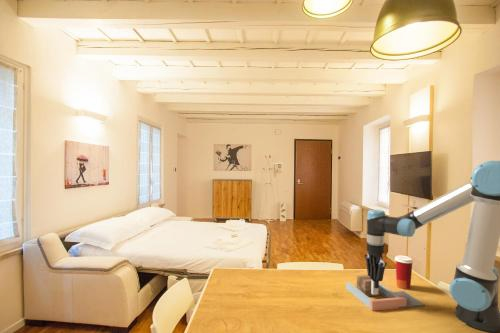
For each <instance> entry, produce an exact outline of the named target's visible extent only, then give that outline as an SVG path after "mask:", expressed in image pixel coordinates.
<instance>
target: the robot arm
mask: <svg viewBox="0 0 500 333" xmlns="http://www.w3.org/2000/svg"><path fill="white" fill-rule="evenodd" d="M473 202H474V204H473V208H472V213H471V214H472V215H471V218H470V224H469V229H468V233H467V237H466V238H467V239H466V243H465V249H464V253H463V258H462V262H460V263H457V264H456V267H455V270H454V271H455V273H454V276H453V280H452V281H451V282H450V284H449V293H450V296H451V297H452V299H453V300H454V302H455V303H457V305H456V307H455V309H454V311H455V312H454V313H455V314H454V315H455V317H456V318H457V319H458V321H459V320H460V321H461V322H462V323H464V324H466V325H467V326H469V327H472V328H474V329H477V330H480V331H484V332H491V333H498V332H500V309H499V308H500V307H499V278H500V274H499V269H498V268H497V267H495V261H496V257H497V252H498V247H499V243H500V160H488V161H485V162H483V163H481V164H479V165H478V166H477V167H476V168H474V170H473V171H472V174H471V177H469V180H468V181H467V182H465V183H464V184H461V185H459V186H458V187H457V186H456V187H455V188H454V189H452V190H450V191H448V192H446V193H444V194H442V195H440V196H438V197H437V198H434V199H433V200H431V201H429V202H427V203H425V204H423V205H421V206H420V207H418V208H417V207H416V208H415V209H414V210H411V211H410V212H408V213H406V214H403V215H401V216H397V217H396V216H390V215H389V216H388V215H386V212H385V211H384V210H380V209H369V210H368V211H367V216H366V242H367V243H366V251H367V252H368V253H365V254H364V258H365V263H366V270H367V272H366V273H367V275H368V276H370V278H371V294H373V295H374V296H377V295H376V294H378V295H379V291H378V288H379V283H380V282H382V281H383V279H384V275H385V269H386V266H387V262H385V261H384V260H383V254H384V253H385V245H384V244H385V236H386V235H385V234H390V235H391V234H392V235H396V236H400V237H409V238H411V237H413V236H414V234H415V232H416V230H418V229H419V228H421V227H423V226H425V225H427V224H429V223H431V222H433V221H436V220H438V219H439V218H442V217H444V216H446V215H448V214H450V213H453V212H454V211H457V210H458V209H460V208H464V206H465V207H466V206H468V205H469V204H471V203H473Z"/></svg>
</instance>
